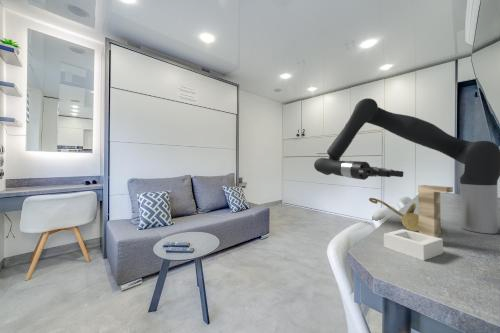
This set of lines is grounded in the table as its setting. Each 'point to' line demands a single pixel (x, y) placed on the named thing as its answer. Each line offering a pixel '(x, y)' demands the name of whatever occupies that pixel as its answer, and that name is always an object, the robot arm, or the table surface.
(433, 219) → the wooden l-shaped block
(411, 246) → the square well
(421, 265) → the table surface
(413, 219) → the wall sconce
